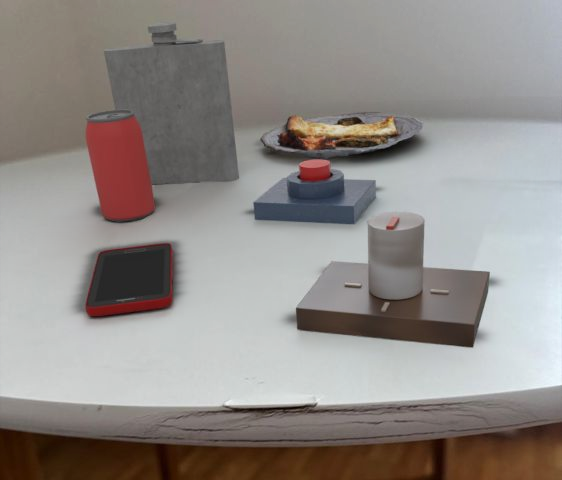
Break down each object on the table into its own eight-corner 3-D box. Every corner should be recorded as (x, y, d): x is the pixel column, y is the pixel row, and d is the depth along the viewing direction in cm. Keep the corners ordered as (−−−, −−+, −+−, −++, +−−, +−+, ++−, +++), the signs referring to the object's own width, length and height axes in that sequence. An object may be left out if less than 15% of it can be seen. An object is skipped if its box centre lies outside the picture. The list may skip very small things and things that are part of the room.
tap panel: (488, 292, 60) (490, 269, 59) (473, 348, 52) (475, 322, 51) (332, 280, 64) (331, 259, 63) (296, 330, 57) (295, 306, 55)
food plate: (242, 164, 104) (239, 140, 102) (286, 129, 122) (285, 108, 121) (410, 164, 96) (411, 138, 95) (430, 126, 115) (431, 104, 113)
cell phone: (173, 250, 74) (171, 241, 74) (173, 308, 62) (171, 298, 61) (100, 259, 74) (98, 250, 73) (85, 319, 61) (83, 309, 61)
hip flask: (126, 186, 98) (95, 29, 88) (135, 178, 101) (106, 26, 91) (237, 182, 96) (219, 20, 85) (241, 173, 99) (225, 17, 89)
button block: (376, 197, 85) (375, 164, 83) (354, 225, 77) (353, 189, 75) (284, 194, 89) (281, 163, 87) (254, 220, 81) (251, 186, 79)
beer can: (138, 224, 83) (118, 120, 77) (92, 222, 85) (69, 120, 79) (165, 207, 88) (148, 108, 82) (121, 205, 90) (102, 108, 84)
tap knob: (375, 276, 60) (375, 206, 56) (427, 279, 58) (429, 208, 55) (362, 297, 56) (361, 224, 53) (416, 302, 55) (418, 227, 51)
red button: (334, 174, 82) (333, 159, 81) (325, 183, 79) (324, 167, 78) (305, 173, 83) (304, 159, 82) (295, 182, 80) (294, 167, 79)
